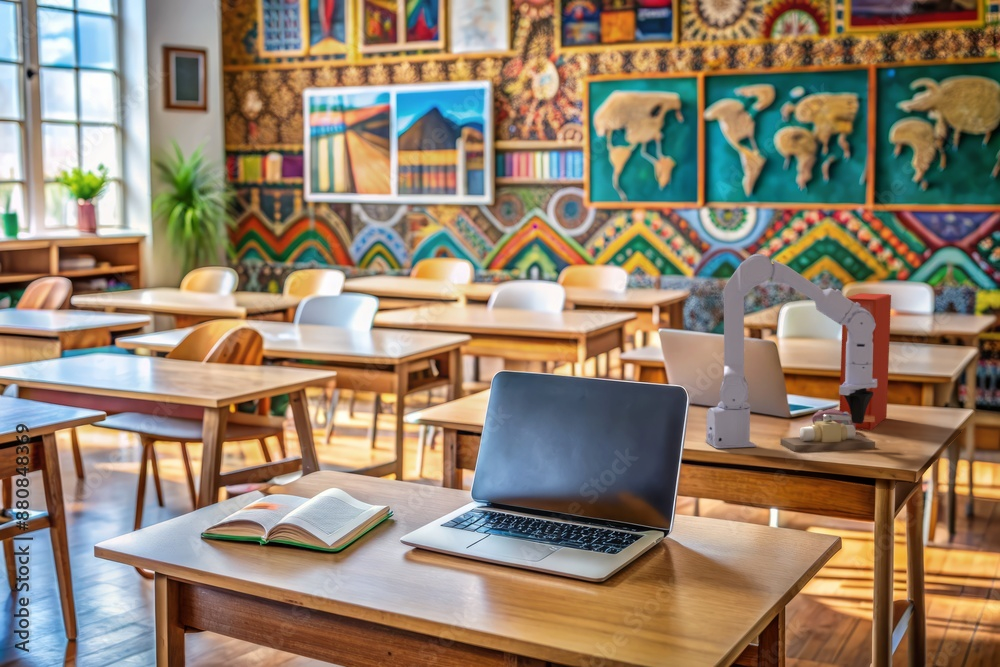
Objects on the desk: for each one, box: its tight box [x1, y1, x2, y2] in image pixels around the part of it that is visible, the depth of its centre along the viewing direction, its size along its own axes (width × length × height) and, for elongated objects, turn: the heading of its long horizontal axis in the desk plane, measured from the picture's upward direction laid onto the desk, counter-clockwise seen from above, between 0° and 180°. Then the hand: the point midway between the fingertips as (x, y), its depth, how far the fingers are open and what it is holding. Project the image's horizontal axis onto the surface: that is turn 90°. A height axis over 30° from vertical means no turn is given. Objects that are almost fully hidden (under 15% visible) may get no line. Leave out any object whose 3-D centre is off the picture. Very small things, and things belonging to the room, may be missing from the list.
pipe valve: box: [799, 421, 857, 442], centre depth 246 cm, size 12×4×4 cm, turn 98°
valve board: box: [779, 434, 876, 453], centre depth 246 cm, size 19×8×2 cm, turn 98°
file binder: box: [839, 292, 892, 431], centre depth 271 cm, size 8×17×32 cm, turn 149°
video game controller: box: [811, 408, 855, 427], centre depth 261 cm, size 10×5×7 cm, turn 63°
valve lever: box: [823, 414, 875, 422], centre depth 244 cm, size 11×2×2 cm, turn 76°
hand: (857, 423), depth 242 cm, fingers closed, pressing on valve lever
